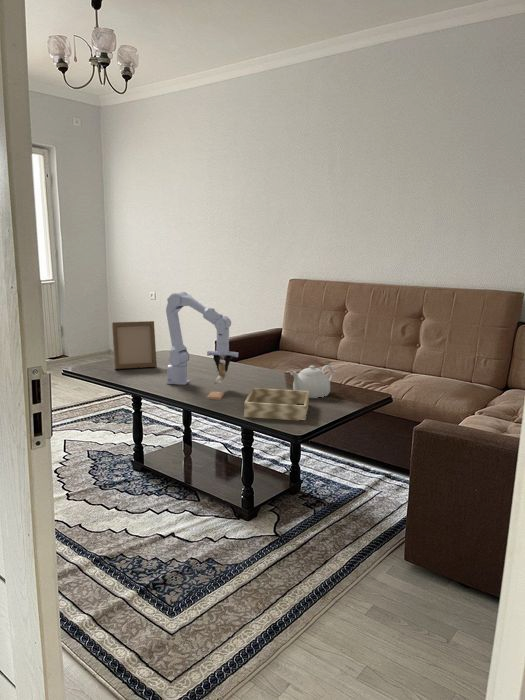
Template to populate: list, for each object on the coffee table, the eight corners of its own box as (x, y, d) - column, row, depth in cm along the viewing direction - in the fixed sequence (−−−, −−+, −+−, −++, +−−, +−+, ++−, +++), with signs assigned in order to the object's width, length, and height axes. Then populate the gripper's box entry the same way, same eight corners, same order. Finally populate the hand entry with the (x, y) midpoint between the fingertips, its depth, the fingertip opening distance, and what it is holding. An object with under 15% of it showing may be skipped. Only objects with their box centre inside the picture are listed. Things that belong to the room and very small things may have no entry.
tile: (211, 394, 248) (207, 399, 240) (211, 391, 248) (207, 396, 239) (224, 395, 247) (220, 400, 239) (224, 392, 247) (220, 397, 239)
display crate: (244, 416, 216) (244, 402, 215) (252, 401, 238) (252, 387, 237) (305, 420, 213) (306, 406, 212) (308, 404, 235) (308, 391, 234)
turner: (214, 383, 246) (214, 370, 244) (220, 374, 258) (220, 362, 257) (220, 383, 245) (220, 371, 244) (226, 374, 258) (226, 362, 256)
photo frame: (156, 368, 295) (155, 322, 291) (115, 370, 288) (114, 323, 283) (152, 362, 309) (151, 319, 305) (112, 365, 301) (111, 320, 297)
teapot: (330, 400, 241) (332, 371, 239) (289, 397, 244) (290, 368, 242) (332, 390, 259) (334, 362, 257) (294, 387, 262) (295, 360, 260)
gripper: (205, 343, 250) (205, 372, 253) (236, 345, 249) (236, 373, 251) (209, 340, 257) (208, 368, 260) (239, 342, 255) (238, 370, 258)
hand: (222, 371), depth 256 cm, fingers closed on turner, 3 cm apart
